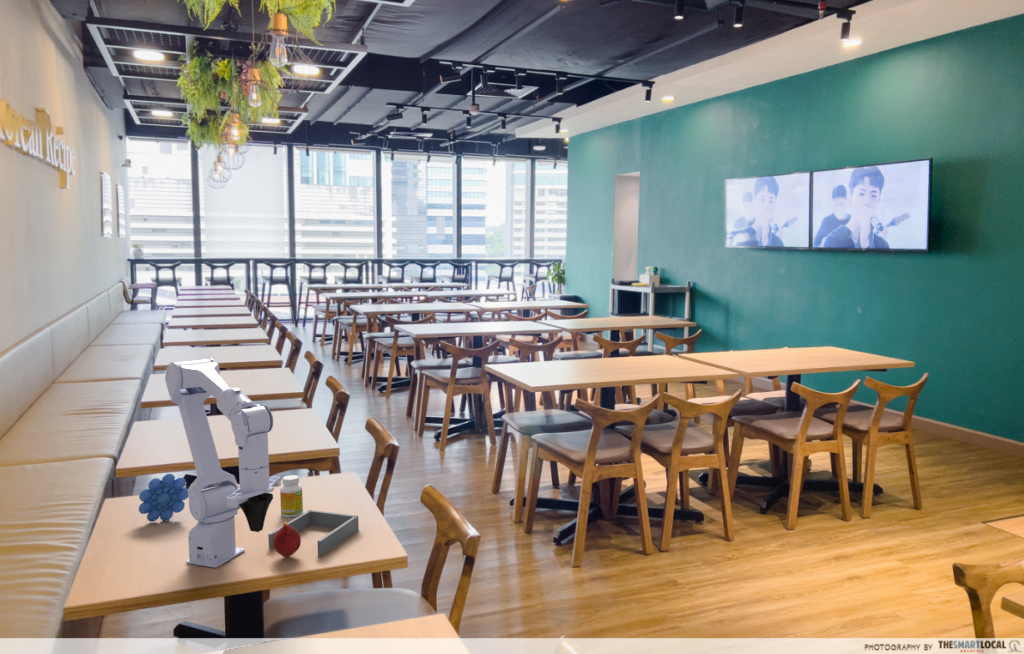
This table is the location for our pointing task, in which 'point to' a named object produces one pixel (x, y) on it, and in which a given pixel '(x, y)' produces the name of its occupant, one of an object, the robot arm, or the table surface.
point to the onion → (286, 540)
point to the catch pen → (326, 519)
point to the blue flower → (163, 498)
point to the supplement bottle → (291, 497)
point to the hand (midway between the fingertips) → (256, 530)
